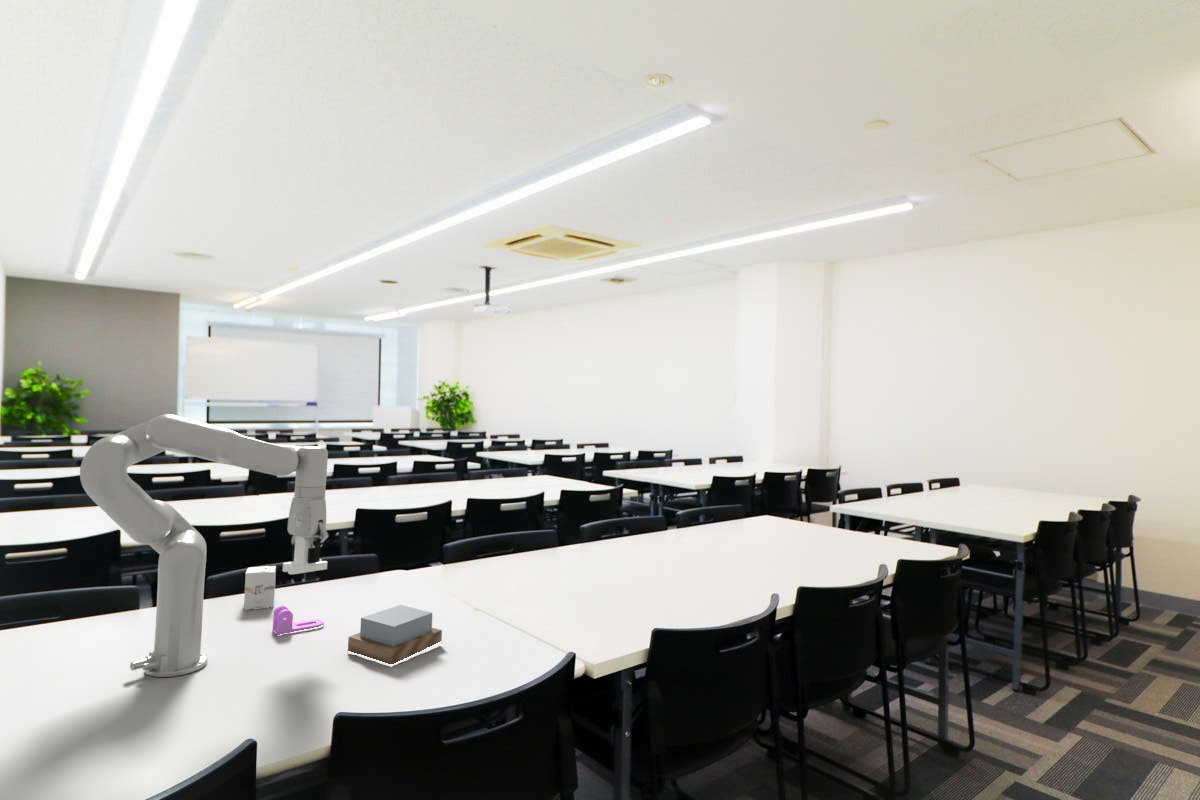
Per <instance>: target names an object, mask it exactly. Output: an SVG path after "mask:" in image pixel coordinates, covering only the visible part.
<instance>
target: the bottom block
mask: <svg viewBox="0 0 1200 800" xmlns="http://www.w3.org/2000/svg"><path fill="white" fill-rule="evenodd" d="M442 636H443V630H442V629H439V628H435V627H432V631H430V632H428V633H425V634H423V635H420V636H418V637H415V638H413V639H410V640H408V641H405V642H403V643H400V644H398V645H395V646H390V645H387V644H383V643H380V642H376V641H373V640H370V639H366V638H363V637H360V632H359V633H355V634H353V635H349V636H348V642H347V652H348V651H351V652H354V653H357V654H361V655H364V656H367V657H370V658H373V659H376V660H379V661H382V662H385V663H388V664H394V663H396V662H398V661H400V660H403V659H404V658H407V657H409V656H411V655H413V654H415V653H417V652H420V651H422V650H424V649H426V648H427V647H430V646H432V645H434V644H436V643H438V642H440V641H441V642H442Z"/></svg>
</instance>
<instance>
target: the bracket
mask: <svg viewBox="0 0 1200 800" xmlns="http://www.w3.org/2000/svg"><path fill="white" fill-rule="evenodd" d="M272 616H273V618H272V631H273V630H274V631H275V632H276V634H277V635H280V634H284V633H290V632H294V631H299V630H304V629H310V628H314V627H319V626H321V625H323V626H324V625H325V624H324V622H325V621H324V620H322V619H307V620H304V621H303V620H302V621H297V622H293V618H294V614H293V612H292V611H291V610H290V609H289V608H288V607H287V606H286V605H278V606H277V607H276V608H275V609H274V610H273V615H272ZM313 623H314V624H313ZM276 634H275V635H276ZM277 635H276V636H277Z"/></svg>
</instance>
